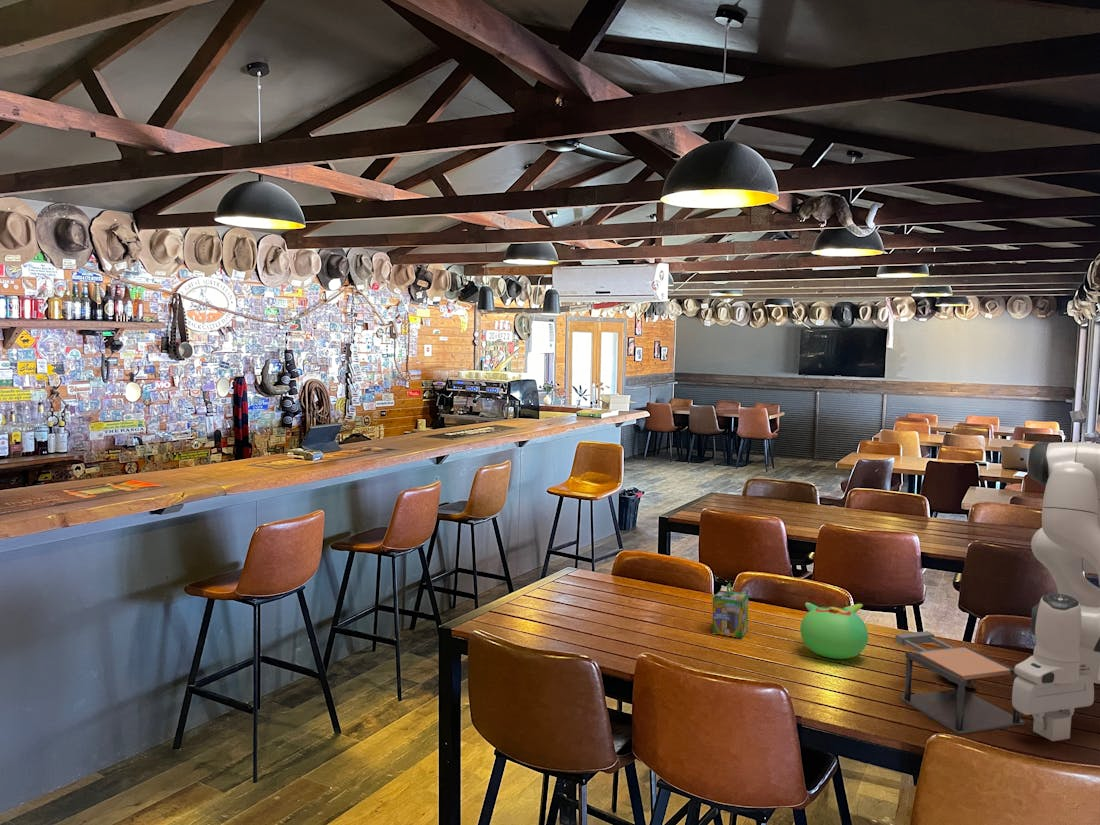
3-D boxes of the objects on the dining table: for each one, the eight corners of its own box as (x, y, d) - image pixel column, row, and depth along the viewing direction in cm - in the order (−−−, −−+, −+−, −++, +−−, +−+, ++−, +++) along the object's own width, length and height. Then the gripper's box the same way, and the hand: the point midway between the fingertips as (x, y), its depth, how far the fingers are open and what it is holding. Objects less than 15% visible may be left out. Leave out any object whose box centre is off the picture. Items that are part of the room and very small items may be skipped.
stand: (899, 698, 197) (901, 651, 197) (961, 690, 203) (964, 644, 202) (958, 734, 179) (961, 682, 178) (1025, 724, 185) (1028, 674, 184)
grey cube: (1050, 728, 183) (1051, 707, 183) (1069, 738, 178) (1071, 717, 178) (1033, 730, 182) (1034, 709, 181) (1052, 741, 177) (1053, 719, 176)
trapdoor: (887, 642, 205) (888, 635, 204) (933, 637, 209) (934, 630, 209) (961, 682, 182) (961, 673, 181) (1011, 676, 186) (1011, 667, 186)
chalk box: (741, 639, 236) (743, 590, 235) (711, 634, 241) (712, 586, 239) (748, 630, 245) (750, 583, 244) (719, 625, 249) (720, 578, 248)
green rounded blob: (797, 661, 220) (800, 609, 219) (800, 641, 236) (802, 592, 235) (867, 671, 214) (870, 618, 213) (866, 649, 230) (868, 600, 229)
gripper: (1078, 658, 185) (1074, 716, 186) (1008, 666, 179) (1004, 726, 180) (1104, 668, 179) (1099, 728, 180) (1032, 678, 173) (1028, 739, 174)
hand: (1051, 727), depth 180 cm, fingers closed on grey cube, 5 cm apart
